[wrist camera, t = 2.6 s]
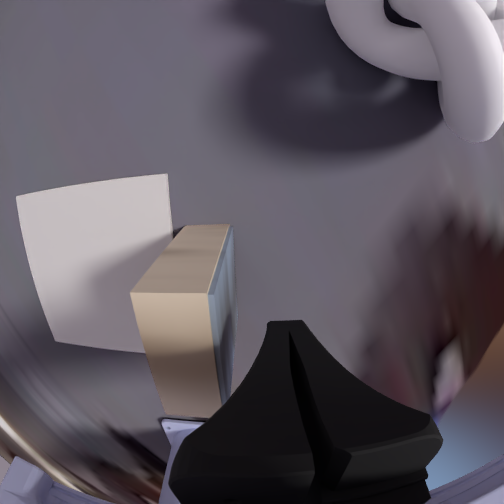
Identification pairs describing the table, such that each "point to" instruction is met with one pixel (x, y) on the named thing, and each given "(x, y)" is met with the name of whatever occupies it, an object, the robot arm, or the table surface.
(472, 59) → the white torus knot
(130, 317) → the white mat
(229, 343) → the blue tan block
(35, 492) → the robot arm
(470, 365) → the table surface
